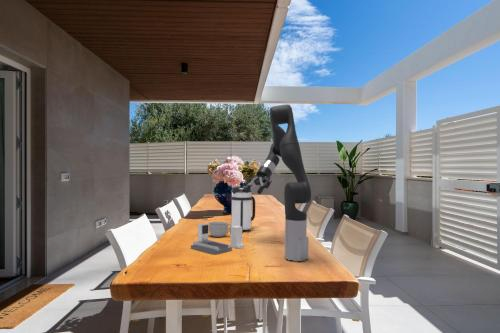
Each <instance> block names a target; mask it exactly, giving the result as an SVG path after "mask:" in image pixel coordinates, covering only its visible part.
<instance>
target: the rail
mask: <svg viewBox="0 0 500 333" xmlns="http://www.w3.org/2000/svg"><path fill="white" fill-rule="evenodd" d="M192 243H193V244H192V245H190V249H191V250H195V251H199V252H203V253H206V254H210V255H214V256H216V255H220V254H223V253H228V252H232V251H233V247H230V244H227V243H223V242H219V241H215V240H210V239H209V223H206V222H203V223H198V224H197V240H196V241H193V242H192Z"/></svg>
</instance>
